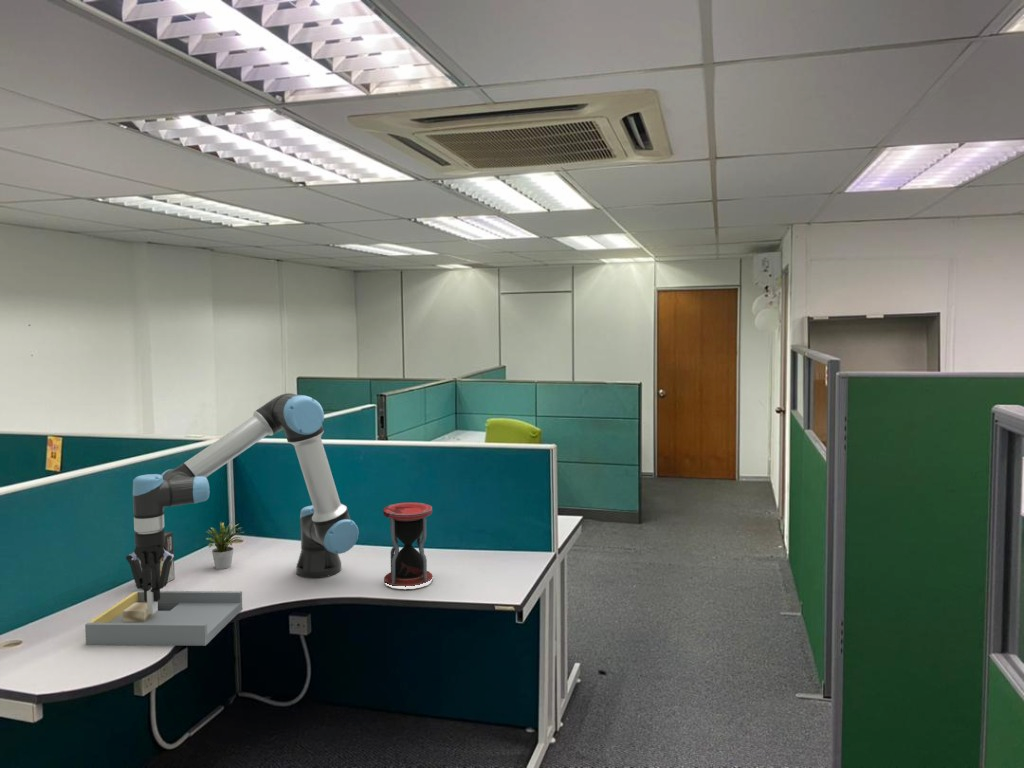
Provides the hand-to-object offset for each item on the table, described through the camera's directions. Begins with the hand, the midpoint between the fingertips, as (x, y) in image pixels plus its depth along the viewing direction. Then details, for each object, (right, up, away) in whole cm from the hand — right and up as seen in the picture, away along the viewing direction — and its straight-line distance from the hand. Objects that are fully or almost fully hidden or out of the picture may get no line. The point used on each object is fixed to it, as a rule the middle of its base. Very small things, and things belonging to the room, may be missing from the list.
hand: (152, 612), depth 194 cm
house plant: (-1, -1, +48) cm, 48 cm away
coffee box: (-16, -2, +34) cm, 37 cm away
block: (-4, -2, 0) cm, 4 cm away
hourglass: (+67, -2, +35) cm, 76 cm away
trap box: (+4, -4, 0) cm, 6 cm away
